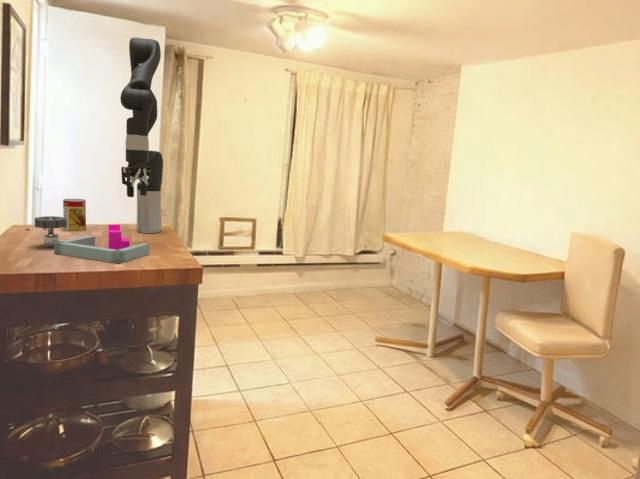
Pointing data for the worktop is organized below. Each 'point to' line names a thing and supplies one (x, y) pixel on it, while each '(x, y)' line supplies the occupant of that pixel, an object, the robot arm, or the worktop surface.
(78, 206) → the canned food
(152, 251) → the worktop surface
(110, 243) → the toy block
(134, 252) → the grey u-shaped bracket
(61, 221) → the wheel
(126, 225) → the worktop surface
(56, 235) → the axle hub
